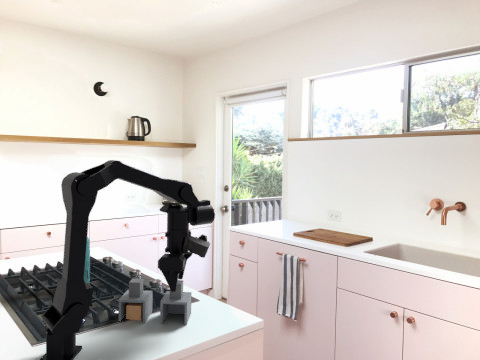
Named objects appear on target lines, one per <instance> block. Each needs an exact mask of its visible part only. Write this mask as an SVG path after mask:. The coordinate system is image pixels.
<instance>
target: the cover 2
mask: <svg viewBox="0 0 480 360" xmlns="http://www.w3.org/2000/svg"><path fill="white" fill-rule="evenodd" d="M159 307H160V309H159V312H160V313H159V324H160V325H162V324H163V323H164V321H165V319H166V318H167V316H168V314H177V315H178V314H182V315H184V326H187V325H188V323H189V319H190V318H191V314H192V292H189V291H184V280H183V279H178V282H177V288H176V291H175V292H172V291H171V290H170V289H169V291H168V290H167V291H166V292H165V293H164V295H163V297H162V298H161V300H160V304H159Z"/></svg>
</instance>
